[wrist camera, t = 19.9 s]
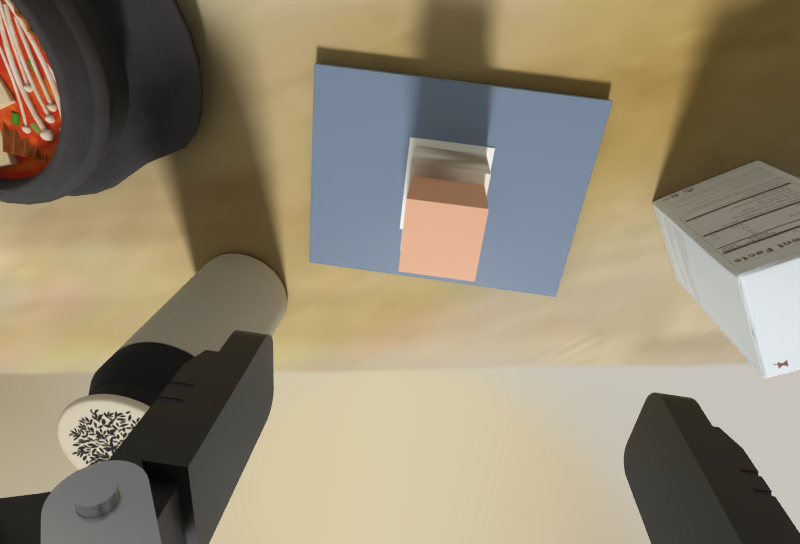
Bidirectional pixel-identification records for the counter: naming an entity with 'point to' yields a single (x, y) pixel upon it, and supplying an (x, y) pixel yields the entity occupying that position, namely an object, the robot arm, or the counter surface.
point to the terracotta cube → (443, 228)
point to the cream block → (449, 166)
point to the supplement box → (742, 258)
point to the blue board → (459, 131)
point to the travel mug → (170, 351)
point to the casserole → (91, 93)
